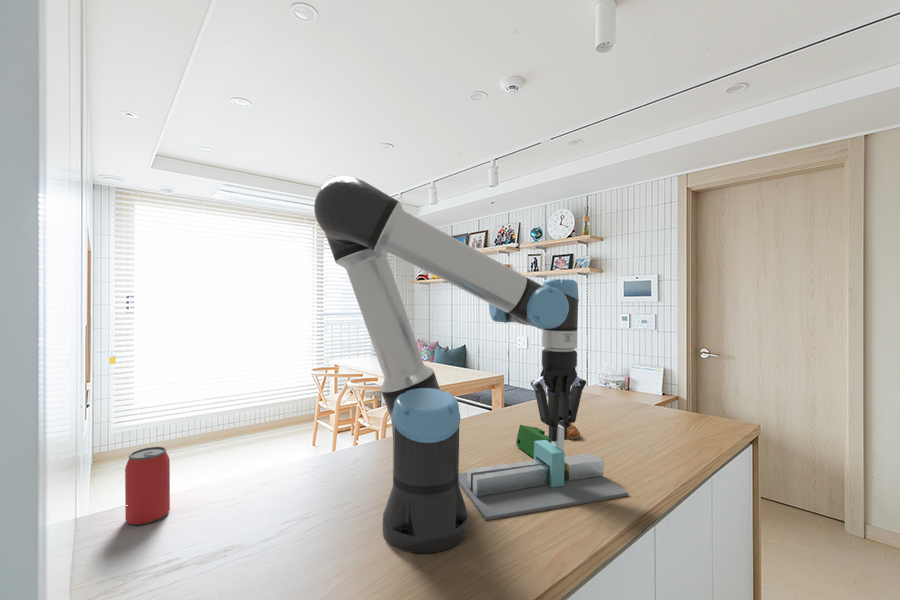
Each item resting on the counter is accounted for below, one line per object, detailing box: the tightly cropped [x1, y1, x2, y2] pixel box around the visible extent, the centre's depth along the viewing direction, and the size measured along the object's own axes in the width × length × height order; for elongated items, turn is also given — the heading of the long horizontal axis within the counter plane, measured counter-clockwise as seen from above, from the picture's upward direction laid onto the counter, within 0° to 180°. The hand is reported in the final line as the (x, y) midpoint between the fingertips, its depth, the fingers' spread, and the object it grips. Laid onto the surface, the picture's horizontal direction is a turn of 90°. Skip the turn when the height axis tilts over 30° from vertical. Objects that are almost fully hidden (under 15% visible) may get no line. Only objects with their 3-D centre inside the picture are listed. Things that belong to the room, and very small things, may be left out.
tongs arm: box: [473, 464, 550, 497], centre depth 87 cm, size 19×2×4 cm, turn 110°
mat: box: [459, 471, 629, 521], centre depth 89 cm, size 32×18×1 cm, turn 108°
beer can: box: [124, 446, 171, 526], centre depth 76 cm, size 7×7×12 cm
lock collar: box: [533, 440, 566, 487], centre depth 91 cm, size 3×8×7 cm, turn 18°
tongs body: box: [467, 452, 605, 490], centre depth 90 cm, size 31×4×4 cm, turn 108°
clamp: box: [515, 424, 552, 459], centre depth 108 cm, size 12×6×9 cm, turn 14°
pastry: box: [558, 423, 581, 440], centre depth 122 cm, size 9×7×4 cm
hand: (557, 454), depth 92 cm, fingers closed
